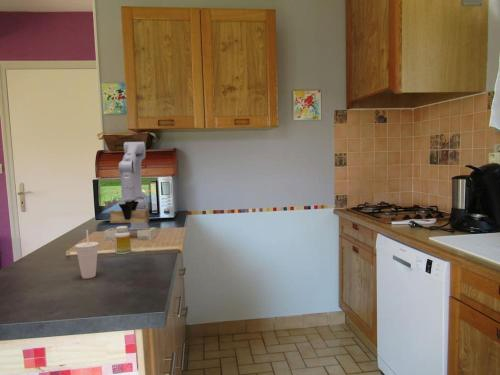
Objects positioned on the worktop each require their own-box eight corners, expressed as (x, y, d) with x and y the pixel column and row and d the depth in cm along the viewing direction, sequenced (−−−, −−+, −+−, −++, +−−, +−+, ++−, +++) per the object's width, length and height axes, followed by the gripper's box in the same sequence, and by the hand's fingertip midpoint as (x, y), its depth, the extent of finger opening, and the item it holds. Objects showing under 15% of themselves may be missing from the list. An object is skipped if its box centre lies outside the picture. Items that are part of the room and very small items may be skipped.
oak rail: (114, 221, 157) (113, 210, 156) (149, 220, 156) (148, 209, 155) (110, 223, 152) (109, 211, 152) (146, 222, 152) (145, 211, 151)
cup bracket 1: (111, 236, 159) (111, 228, 158) (124, 236, 158) (123, 227, 158) (104, 240, 152) (103, 231, 151) (117, 240, 151) (116, 231, 151)
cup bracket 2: (143, 236, 158) (143, 227, 158) (156, 236, 158) (155, 227, 157) (137, 239, 151) (137, 230, 151) (150, 239, 151) (150, 230, 150)
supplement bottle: (133, 252, 130) (132, 226, 129) (119, 255, 126) (118, 228, 125) (126, 250, 134) (125, 225, 133) (113, 252, 130) (111, 227, 129)
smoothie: (85, 281, 99) (82, 232, 97) (72, 277, 102) (69, 230, 101) (105, 275, 104) (102, 228, 103) (92, 271, 107) (89, 227, 106)
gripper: (126, 186, 160) (127, 216, 161) (112, 189, 146) (113, 221, 147) (141, 186, 160) (142, 215, 161) (128, 189, 146) (130, 221, 147)
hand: (129, 218), depth 154 cm, fingers closed on oak rail, 4 cm apart
